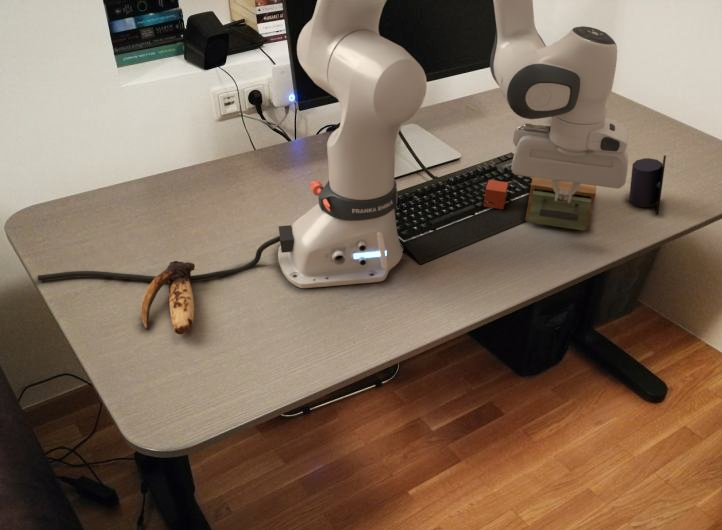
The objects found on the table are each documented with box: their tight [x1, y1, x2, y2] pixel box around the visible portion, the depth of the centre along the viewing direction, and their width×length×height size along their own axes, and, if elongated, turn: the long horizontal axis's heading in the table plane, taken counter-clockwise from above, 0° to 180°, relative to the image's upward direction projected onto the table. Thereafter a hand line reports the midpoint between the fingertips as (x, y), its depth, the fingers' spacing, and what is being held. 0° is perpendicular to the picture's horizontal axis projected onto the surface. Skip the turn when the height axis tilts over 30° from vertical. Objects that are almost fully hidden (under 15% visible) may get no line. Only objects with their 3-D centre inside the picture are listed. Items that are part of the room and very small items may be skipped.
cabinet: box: [524, 177, 597, 231], centre depth 136 cm, size 14×12×8 cm
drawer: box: [527, 189, 591, 231], centre depth 133 cm, size 18×11×6 cm, turn 167°
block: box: [483, 179, 509, 210], centre depth 138 cm, size 4×4×4 cm
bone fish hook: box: [140, 260, 196, 336], centre depth 111 cm, size 9×5×18 cm
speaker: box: [628, 154, 667, 215], centre depth 138 cm, size 8×6×10 cm
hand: (562, 200), depth 126 cm, fingers closed
